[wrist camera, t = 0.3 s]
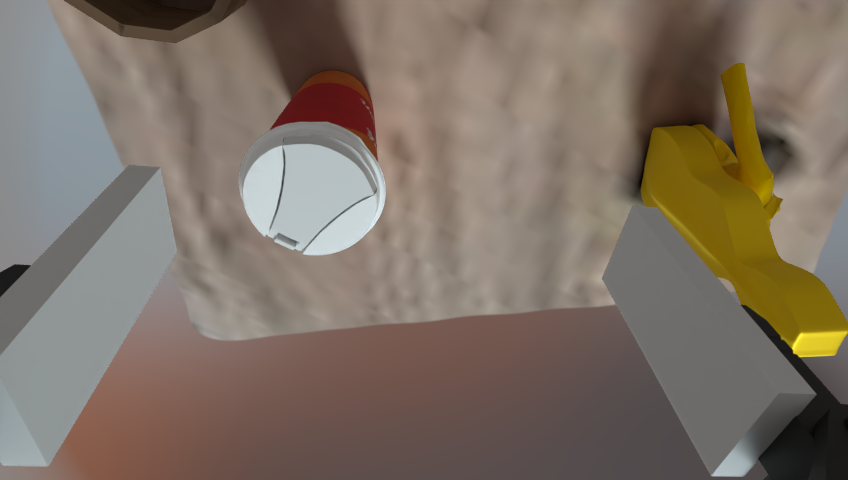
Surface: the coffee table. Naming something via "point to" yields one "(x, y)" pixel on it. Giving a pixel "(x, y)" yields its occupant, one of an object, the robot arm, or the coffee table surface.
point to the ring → (154, 17)
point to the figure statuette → (739, 221)
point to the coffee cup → (317, 168)
